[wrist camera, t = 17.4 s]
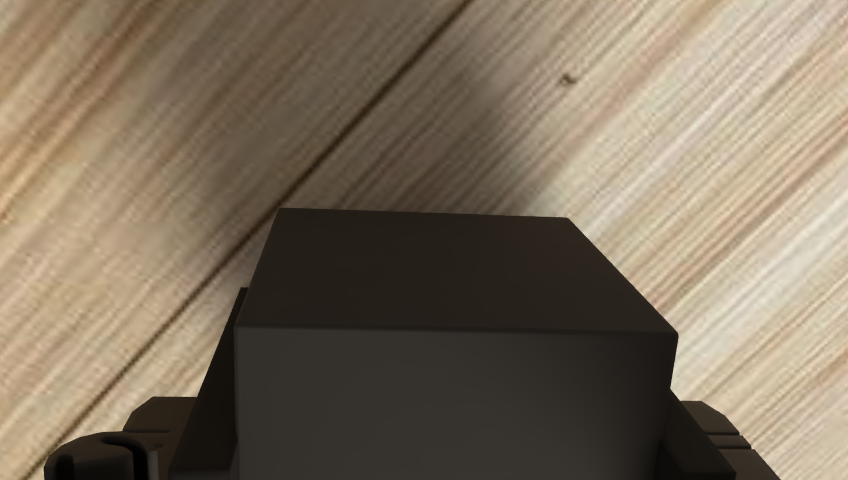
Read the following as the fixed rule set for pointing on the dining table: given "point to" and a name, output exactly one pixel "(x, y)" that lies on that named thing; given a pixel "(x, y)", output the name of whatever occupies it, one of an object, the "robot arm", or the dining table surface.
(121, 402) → the dining table surface
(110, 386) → the dining table surface
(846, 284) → the dining table surface
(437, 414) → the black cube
